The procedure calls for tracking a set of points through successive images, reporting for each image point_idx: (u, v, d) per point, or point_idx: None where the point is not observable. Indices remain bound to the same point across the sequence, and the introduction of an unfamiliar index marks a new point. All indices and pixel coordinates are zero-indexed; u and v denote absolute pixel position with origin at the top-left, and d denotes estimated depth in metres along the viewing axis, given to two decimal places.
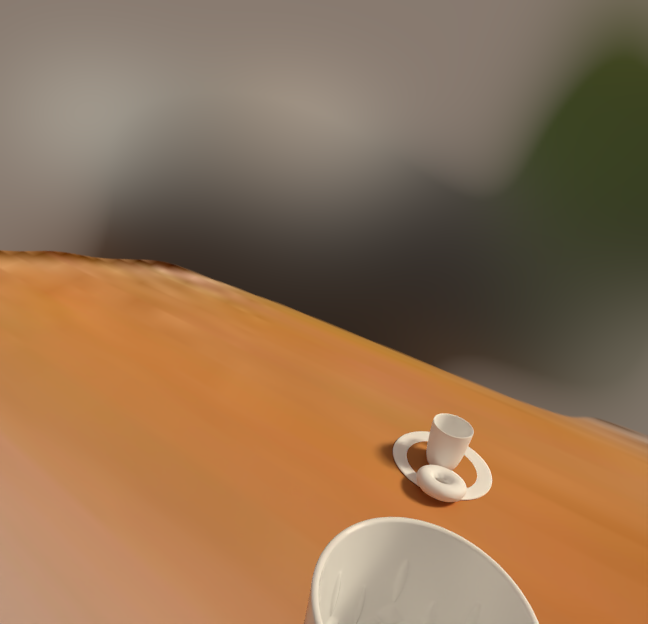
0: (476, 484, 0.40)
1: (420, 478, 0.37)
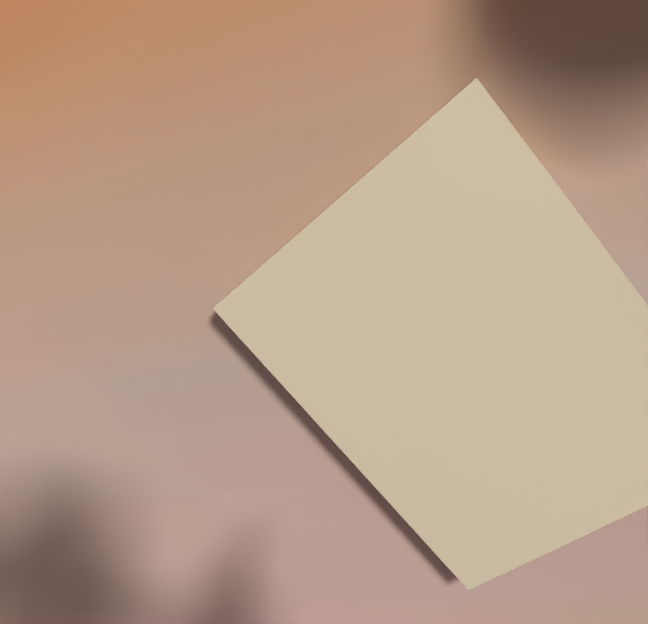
0: None
1: None
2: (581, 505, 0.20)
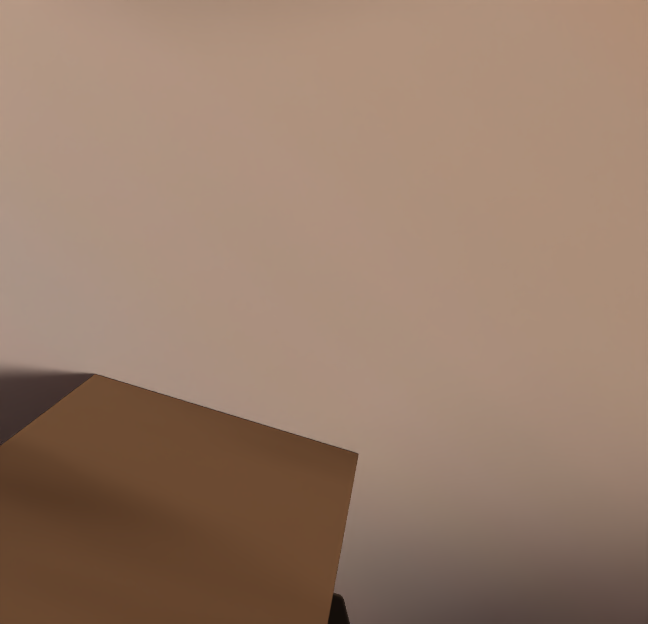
0: None
1: None
2: None
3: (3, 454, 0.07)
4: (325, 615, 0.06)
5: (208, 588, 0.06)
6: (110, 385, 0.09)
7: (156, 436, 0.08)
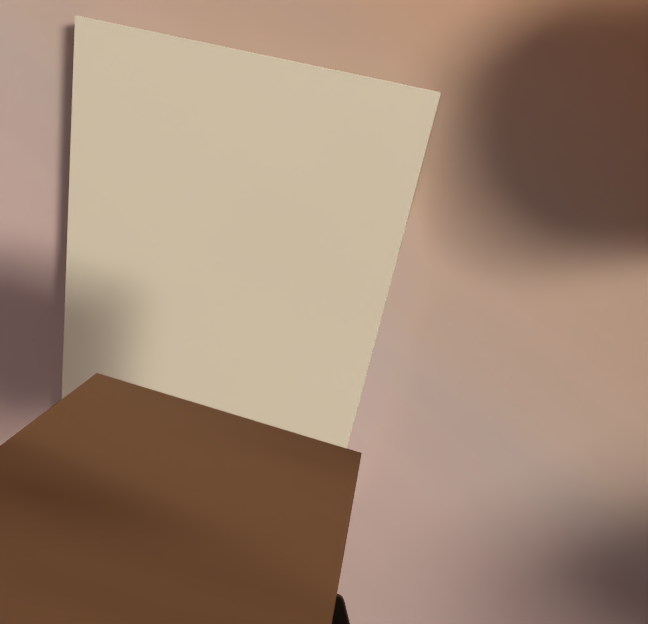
0: None
1: None
2: None
3: (5, 453, 0.07)
4: (329, 614, 0.06)
5: (211, 586, 0.06)
6: (112, 384, 0.09)
7: (158, 435, 0.08)
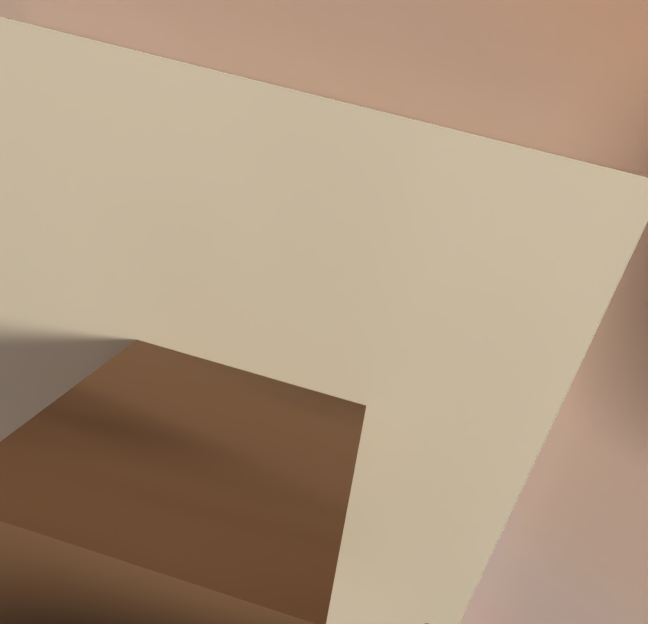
0: None
1: None
2: None
3: (71, 397, 0.09)
4: (342, 516, 0.07)
5: (246, 494, 0.07)
6: (150, 348, 0.11)
7: (194, 387, 0.10)
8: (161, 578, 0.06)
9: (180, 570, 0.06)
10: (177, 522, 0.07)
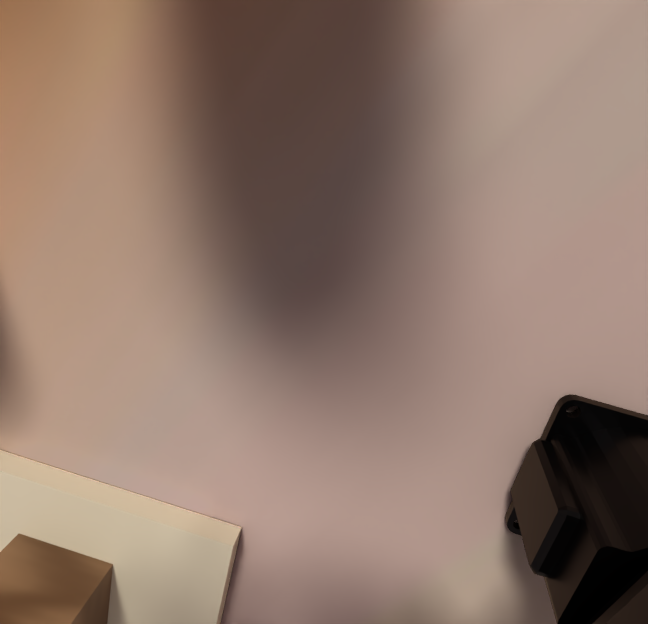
0: None
1: None
2: None
3: None
4: None
5: None
6: None
7: None
8: None
9: None
10: None
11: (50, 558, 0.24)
